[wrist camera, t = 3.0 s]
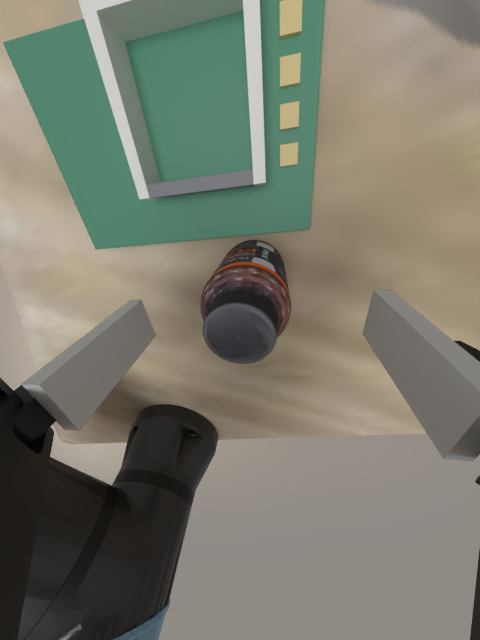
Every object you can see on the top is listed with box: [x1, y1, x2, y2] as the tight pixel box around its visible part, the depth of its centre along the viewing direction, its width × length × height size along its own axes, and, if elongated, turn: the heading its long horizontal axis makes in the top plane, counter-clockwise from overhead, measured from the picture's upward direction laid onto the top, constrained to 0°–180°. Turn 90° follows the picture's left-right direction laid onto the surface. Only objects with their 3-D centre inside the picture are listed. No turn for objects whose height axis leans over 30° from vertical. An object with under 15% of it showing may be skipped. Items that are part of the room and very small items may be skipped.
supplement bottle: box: [200, 240, 291, 364], centre depth 16 cm, size 6×6×11 cm
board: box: [3, 0, 325, 249], centre depth 14 cm, size 20×13×4 cm, turn 96°
